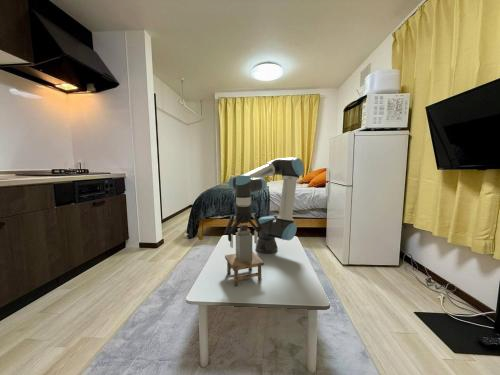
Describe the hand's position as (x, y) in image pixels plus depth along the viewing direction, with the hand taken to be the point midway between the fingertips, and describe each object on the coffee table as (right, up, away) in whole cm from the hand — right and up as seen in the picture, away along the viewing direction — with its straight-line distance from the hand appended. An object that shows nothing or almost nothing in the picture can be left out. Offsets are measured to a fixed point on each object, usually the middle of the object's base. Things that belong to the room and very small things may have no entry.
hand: (244, 245), depth 115 cm
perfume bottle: (0, -7, 0) cm, 8 cm away
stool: (0, -17, +2) cm, 17 cm away
